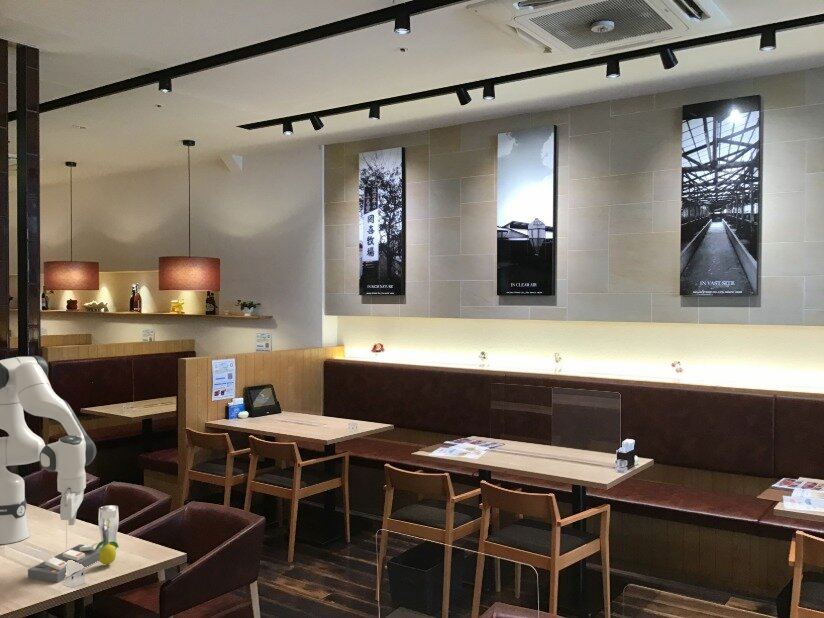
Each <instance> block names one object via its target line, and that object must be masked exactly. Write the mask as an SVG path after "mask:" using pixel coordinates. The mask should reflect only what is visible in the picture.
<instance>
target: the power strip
mask: <svg viewBox="0 0 824 618" xmlns="http://www.w3.org/2000/svg"><path fill="white" fill-rule="evenodd" d="M84 545H85V544H77V545H75V546H73V547H72V548H69V549H67V550H65V551H63V552H61V553H59V554H57V555H55V556H54V557H55V558H57V559H60V560H62V561H64V562H67V561H68V560H73V559H70V558H66V557H63V553H65V552H67V551H69V550H74V551H78V552H81V553H85V557H83V558H82V559H80V560H78V561H76V560H73V561H75V562H77V563H79V564H82V565H83V566H84V567H87V566H88V567H90V566H92V565H94V564H96V563H97V561H98V562H100V561H99V552H100V549H101V548H102V547H99V548H98V549H97V550H95V549H93V550H86V551H80V547H82V546H84ZM51 558H52V557H50V558H49V559H51ZM49 559H47V560H49ZM47 560H45V561H43V562H40V563H37V564H36V565H34V566H32V567H30V568H28V569H27V578H28V579H29V580H37V581H44V582H49V583H57V584H58V583H60V582H62V581H64V580H65V579H64V578H65V573H66V567H65V568H63V569H61V570H57V569H55V568H53V567H50V566H48V565H45V562H46V561H47ZM95 562H96V563H95ZM93 563H94V564H93ZM91 564H92V565H91ZM89 565H90V566H89ZM88 567H87V568H88Z"/></svg>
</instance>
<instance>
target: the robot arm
mask: <svg viewBox="0 0 824 618" xmlns="http://www.w3.org/2000/svg"><path fill="white" fill-rule="evenodd" d="M48 373H49V366H48V363H47V361H46V359H45V358H43V356H39V355H30V356H16V357H10V358H5V359H1V360H0V430H3V431H4V432H6V433H7V434H8V436H2V437H1V436H0V545H7V544H14V543H17V542H21V541H23V540H25V539H27V538H29V537H30V536H31V532H30V527H29V524H28V517H27V515H28V514H27V511H26V509H27V499H26V497H25V496H26V495H25V494H26V493H25V492H26V491H25V488H26V487H25V480H24V478H23V477H21V476H20V475H19V474H17V473H13V472H11V471H9V469H8V468H7V467H9V466H10V467H11V466H21V465H22V466H23V465H28V464H32V463H37V462H39V464H40V466H41V468H42V469H44V470H45V471H47V472H57V475H56V476H57V479H56V483H57V484H56V485H57V492H59V493H61V499H60V510H59V512H60V513H59V514H60V515H59V516H60V520H61V521H68V525H69V526H73V525H75V523H76V520H77V518H76V517H77V513H78V509H79V507H80V506H81V504H82V502H83V500H84V496H85V495H84V493H85V489H86V487H87V483H86V482H87V473H86V469H85V466H88V465H90V464H91V463H92V462H93V460H94V459H95V457H96V455H97V446H96V444H95V442H94V441H93V440H92V439H91V438H90V436H89V435H88V434H87V432H86V430H85V429H84V427H83V426H82V424H81V422H80V420H79V418H78V417H77V415H76V414H75V412H74V410H73V409H72V407H71V405H70V404H69V402H67V401H66V400H65V399H63V398H61V397H60V396H59V395H58V394H56V392H55V391H54V389H53V388H52V384H51V383H50V380H49V378H48V375H49V374H48ZM24 411H25V412H26V413H28V414H30V415H32V416H35V417H41V418H49V419H52V420H55V421H57V422H59V423H60V424H61V425H62V427H63V428H64V430H65V432H66V433H67V435H64V436H62V437H60V438H59V439H58V441H56V442H52V443H48V444H46V443H45V440H44V439H43V438H42V437H40V436H39V435H37V434H36V433H34V432H33V431H32V430H31V428H29V427H28V425H27V422H26V420H25V413H24Z"/></svg>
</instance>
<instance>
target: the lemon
mask: <svg viewBox="0 0 824 618" xmlns="http://www.w3.org/2000/svg"><path fill="white" fill-rule="evenodd" d="M104 542H105V541H101V540H100V541H99V542H98V543H99V544H98V545H97V547H96V549H95V550H97V549H98V548H99V547H100V546H101V545H102V544H103V543H104ZM109 543H110V544H108V537H107V544H106V545H104V546H103V547H102V548H101V549H100V552H99V561H98V562H100V563H101V564H102V565H105V566H107V565H108V566H109V565H110V564H112V563H114V561H115V560H116V556H117V550H116V549H119V544H118V542H117V543H116V542H114V541H113V542H109ZM112 545H113V546H112ZM114 547H117V548H116V549H115V548H114Z"/></svg>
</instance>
